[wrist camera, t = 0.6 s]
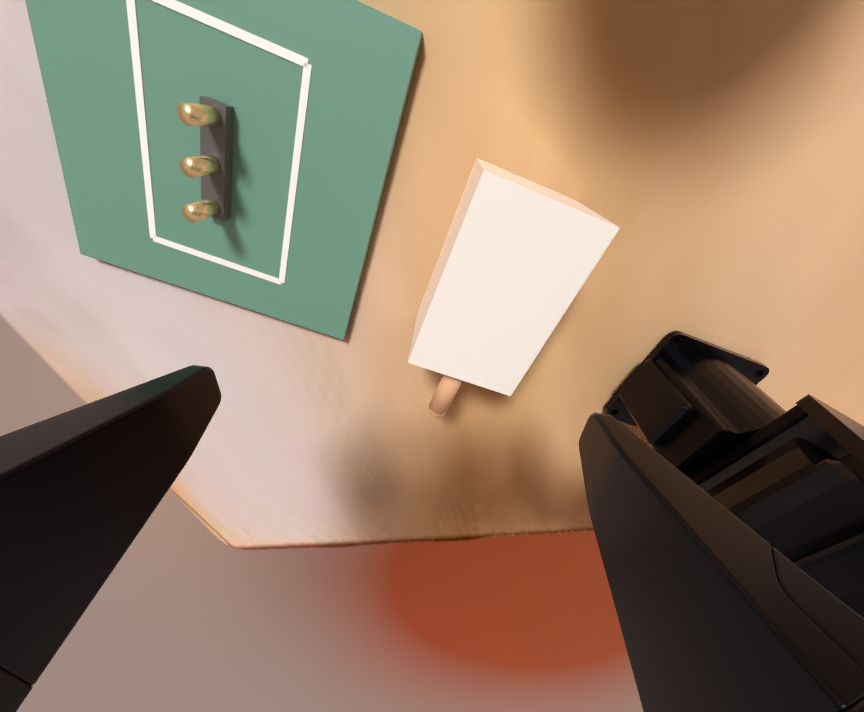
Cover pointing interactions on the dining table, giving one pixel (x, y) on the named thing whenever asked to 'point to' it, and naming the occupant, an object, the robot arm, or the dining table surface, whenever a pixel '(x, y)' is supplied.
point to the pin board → (228, 141)
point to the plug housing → (502, 281)
